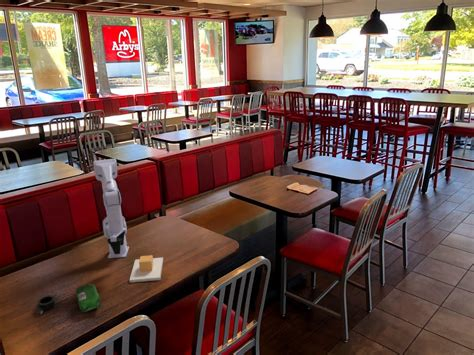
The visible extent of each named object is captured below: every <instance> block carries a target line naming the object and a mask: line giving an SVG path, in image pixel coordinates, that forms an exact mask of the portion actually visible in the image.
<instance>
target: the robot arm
mask: <svg viewBox="0 0 474 355" xmlns="http://www.w3.org/2000/svg"><path fill="white" fill-rule="evenodd" d="M92 163H93V170H94V174H95V178H96V180H97V181H100V182H101V187H102V192H103V194H102V199H103V204H104V207H105V211H106V217H104V219H103V220H102V228H103V235H104V238H106V239H107V243H108V248H109V254H108V256H107V259H116V258H126V257H127V255H128V253H129V252H128V251H129V249H130V246H127V245H128V244H127V238H126V235H127V233H128V230H127V228H128V227H127V223H126V218H125V217H124V216H123V213H122V207H121V206H122V205H121V204H122V197H121V193H120V190H119V188H118V184H117V182H116V180H115V179H116V178H117V177H118V165H117V164H118V163H117V159H116V158H110V159H109V158H108V159H102V160H101V159H99V160H93V162H92Z"/></svg>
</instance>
